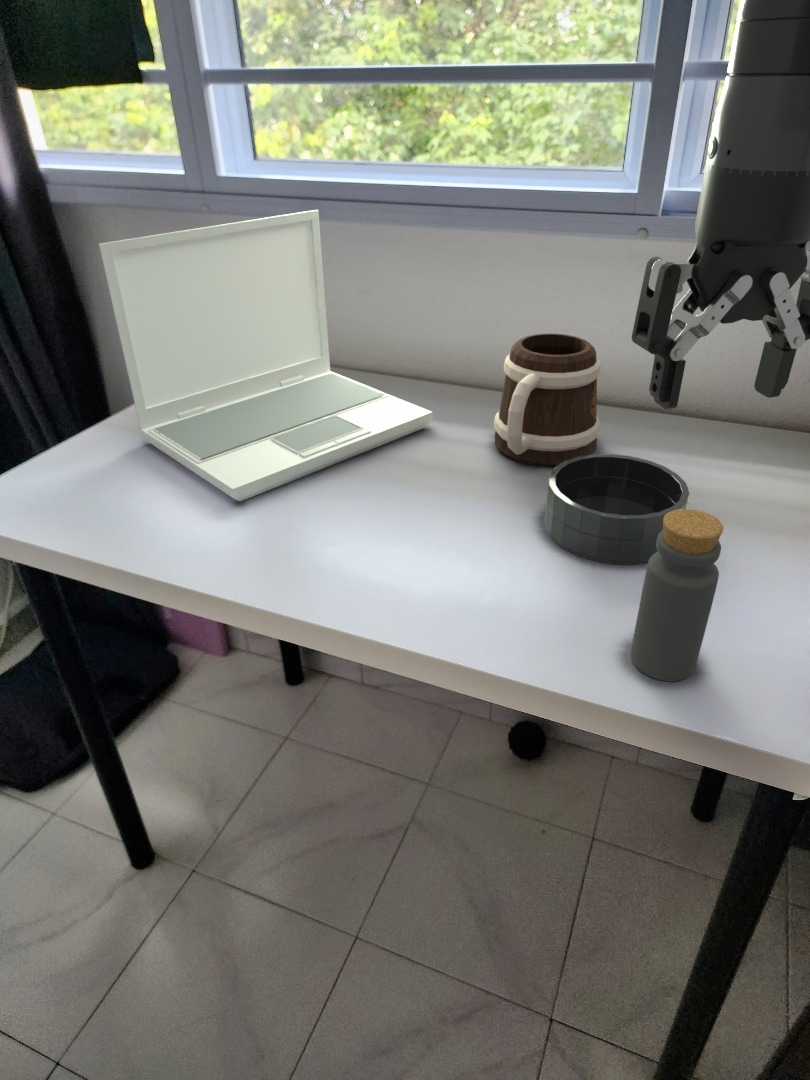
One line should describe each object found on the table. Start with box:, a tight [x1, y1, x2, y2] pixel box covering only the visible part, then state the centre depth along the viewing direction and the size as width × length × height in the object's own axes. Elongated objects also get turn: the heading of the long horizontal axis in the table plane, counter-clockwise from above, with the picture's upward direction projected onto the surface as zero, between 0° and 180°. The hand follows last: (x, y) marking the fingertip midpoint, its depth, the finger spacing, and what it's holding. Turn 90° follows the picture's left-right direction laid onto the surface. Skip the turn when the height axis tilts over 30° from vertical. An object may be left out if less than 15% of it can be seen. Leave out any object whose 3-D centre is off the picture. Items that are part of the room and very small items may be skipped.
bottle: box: [630, 508, 724, 682], centre depth 66 cm, size 6×6×15 cm
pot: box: [544, 453, 690, 566], centre depth 88 cm, size 16×16×6 cm
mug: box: [493, 333, 602, 467], centre depth 103 cm, size 20×15×15 cm
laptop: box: [98, 209, 434, 502], centre depth 106 cm, size 35×26×28 cm
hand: (716, 399), depth 56 cm, fingers open, 8 cm apart
